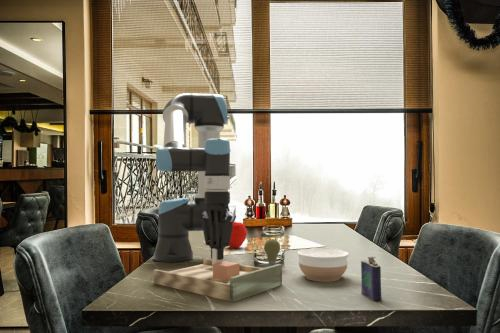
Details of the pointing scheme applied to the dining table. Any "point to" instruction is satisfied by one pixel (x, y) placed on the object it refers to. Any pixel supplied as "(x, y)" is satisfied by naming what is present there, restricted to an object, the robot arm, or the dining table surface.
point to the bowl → (323, 264)
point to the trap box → (221, 281)
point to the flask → (371, 279)
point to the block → (225, 270)
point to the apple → (237, 235)
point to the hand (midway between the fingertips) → (217, 270)
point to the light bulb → (272, 250)
